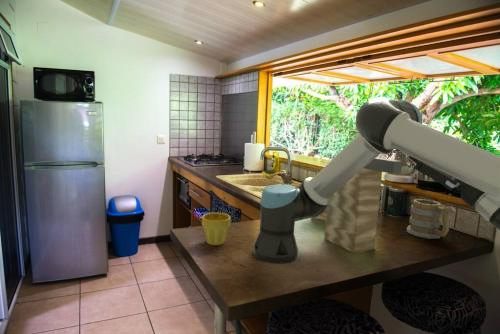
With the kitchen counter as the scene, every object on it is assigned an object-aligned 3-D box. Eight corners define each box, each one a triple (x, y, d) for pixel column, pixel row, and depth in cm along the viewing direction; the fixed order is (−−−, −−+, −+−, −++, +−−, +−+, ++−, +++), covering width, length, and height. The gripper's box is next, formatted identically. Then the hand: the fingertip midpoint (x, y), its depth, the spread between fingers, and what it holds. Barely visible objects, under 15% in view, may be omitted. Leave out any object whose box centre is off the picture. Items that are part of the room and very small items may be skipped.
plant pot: (217, 249, 115) (218, 222, 113) (195, 242, 120) (196, 216, 119) (235, 241, 123) (236, 216, 122) (213, 235, 129) (214, 210, 128)
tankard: (400, 229, 147) (404, 196, 145) (424, 228, 150) (428, 195, 148) (436, 246, 127) (441, 208, 125) (462, 244, 131) (467, 207, 129)
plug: (403, 173, 108) (404, 154, 107) (390, 173, 105) (392, 155, 104) (357, 164, 125) (358, 149, 124) (345, 165, 122) (346, 149, 122)
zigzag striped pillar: (374, 249, 122) (382, 168, 117) (354, 253, 117) (362, 169, 113) (343, 235, 136) (349, 162, 131) (324, 238, 131) (330, 163, 127)
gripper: (444, 214, 75) (383, 158, 89) (503, 205, 86) (439, 157, 101) (465, 189, 71) (397, 135, 85) (524, 183, 82) (454, 136, 97)
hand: (420, 147), depth 93 cm, fingers open, 13 cm apart
